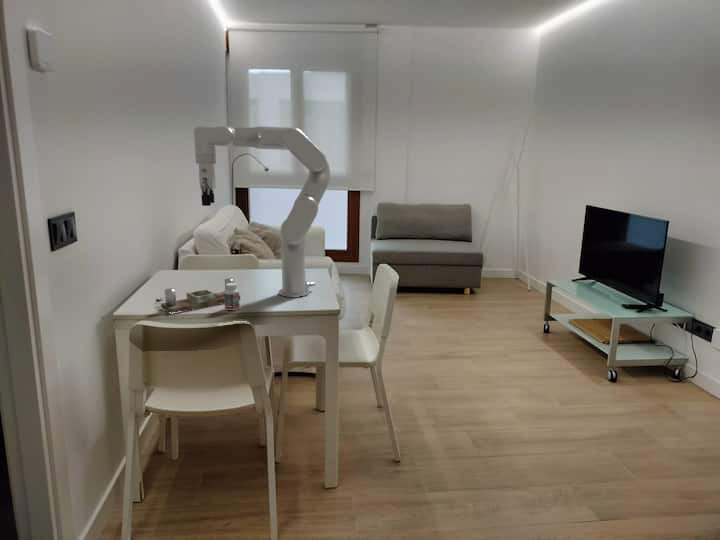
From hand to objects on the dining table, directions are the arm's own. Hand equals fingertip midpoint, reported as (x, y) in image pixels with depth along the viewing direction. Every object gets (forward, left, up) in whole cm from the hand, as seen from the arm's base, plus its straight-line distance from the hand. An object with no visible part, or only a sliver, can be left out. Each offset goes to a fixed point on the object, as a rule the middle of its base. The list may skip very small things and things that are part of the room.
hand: (208, 204), depth 209 cm
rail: (+9, +8, -37) cm, 39 cm away
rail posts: (+9, +8, -35) cm, 37 cm away
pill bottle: (+3, +21, -38) cm, 43 cm away
